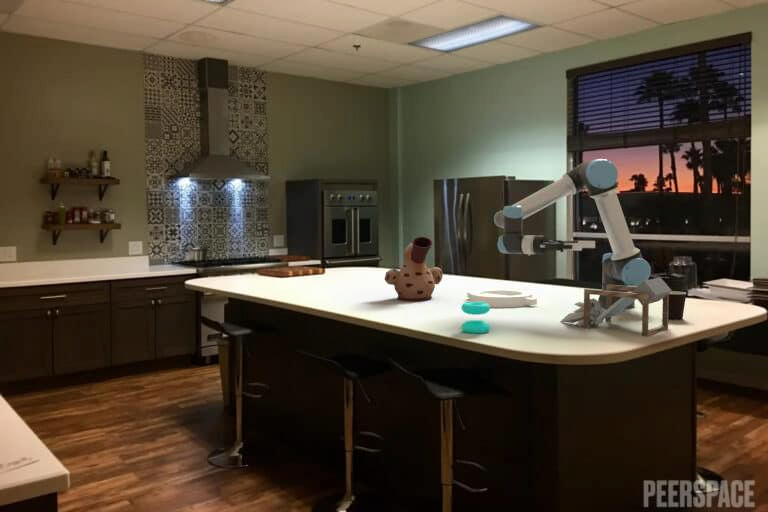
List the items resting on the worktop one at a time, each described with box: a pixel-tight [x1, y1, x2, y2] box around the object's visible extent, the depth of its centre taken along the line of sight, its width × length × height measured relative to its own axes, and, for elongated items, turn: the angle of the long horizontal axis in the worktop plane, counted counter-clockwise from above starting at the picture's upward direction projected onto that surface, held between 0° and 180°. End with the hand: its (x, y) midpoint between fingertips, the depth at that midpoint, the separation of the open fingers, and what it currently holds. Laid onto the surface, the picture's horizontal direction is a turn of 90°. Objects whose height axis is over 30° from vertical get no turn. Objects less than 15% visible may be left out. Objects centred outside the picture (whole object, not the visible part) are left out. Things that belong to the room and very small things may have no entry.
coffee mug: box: [661, 290, 687, 321], centre depth 251 cm, size 12×9×10 cm
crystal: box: [560, 297, 605, 326], centre depth 242 cm, size 10×13×15 cm
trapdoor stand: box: [583, 284, 669, 337], centre depth 231 cm, size 23×19×14 cm
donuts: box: [460, 301, 491, 334], centre depth 229 cm, size 10×10×10 cm
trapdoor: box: [597, 277, 673, 321], centre depth 229 cm, size 22×15×7 cm
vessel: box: [384, 236, 444, 302], centre depth 309 cm, size 29×22×30 cm
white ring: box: [466, 288, 538, 308], centre depth 297 cm, size 28×28×5 cm
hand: (588, 245), depth 245 cm, fingers open, 13 cm apart
